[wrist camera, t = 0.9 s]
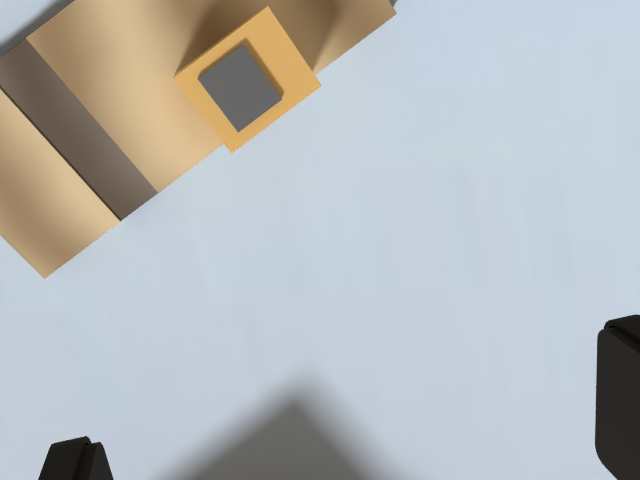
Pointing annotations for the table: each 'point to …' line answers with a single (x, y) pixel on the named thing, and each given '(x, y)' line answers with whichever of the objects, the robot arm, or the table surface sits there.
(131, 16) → the board
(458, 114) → the table surface
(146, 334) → the table surface
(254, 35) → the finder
